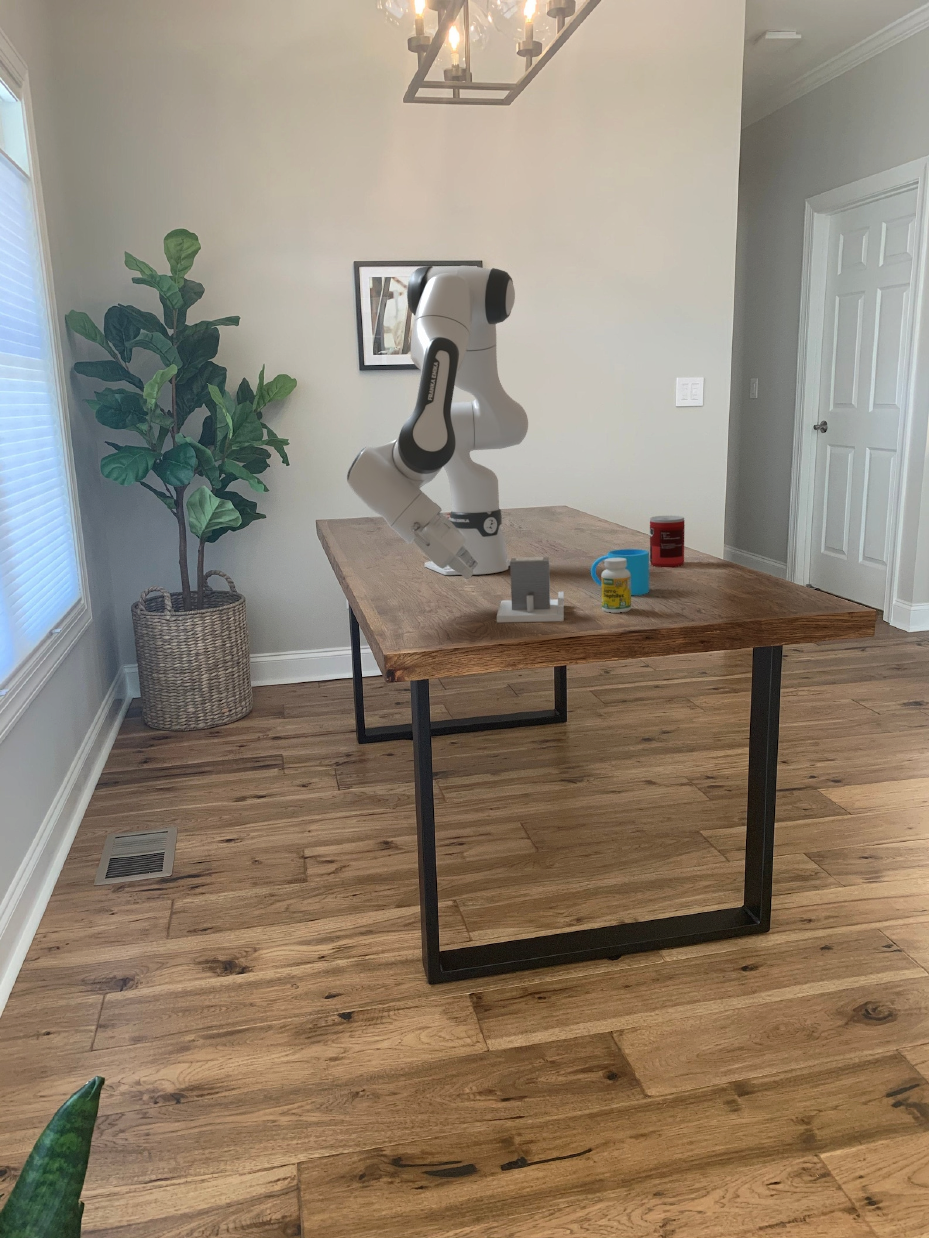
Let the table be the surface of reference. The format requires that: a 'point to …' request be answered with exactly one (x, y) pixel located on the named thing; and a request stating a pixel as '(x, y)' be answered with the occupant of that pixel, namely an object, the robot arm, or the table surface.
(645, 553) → the mug
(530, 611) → the white pegged base
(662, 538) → the canned food
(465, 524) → the robot arm
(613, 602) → the supplement bottle
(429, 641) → the table surface
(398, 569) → the table surface
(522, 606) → the block
